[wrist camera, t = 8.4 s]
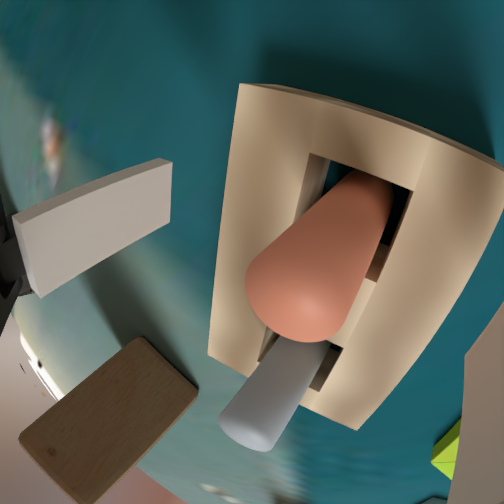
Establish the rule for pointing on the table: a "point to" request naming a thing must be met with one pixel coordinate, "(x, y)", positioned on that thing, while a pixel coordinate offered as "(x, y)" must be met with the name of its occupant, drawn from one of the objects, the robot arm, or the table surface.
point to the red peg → (321, 260)
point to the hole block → (386, 257)
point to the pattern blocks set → (445, 456)
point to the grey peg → (272, 393)
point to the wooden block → (108, 422)
